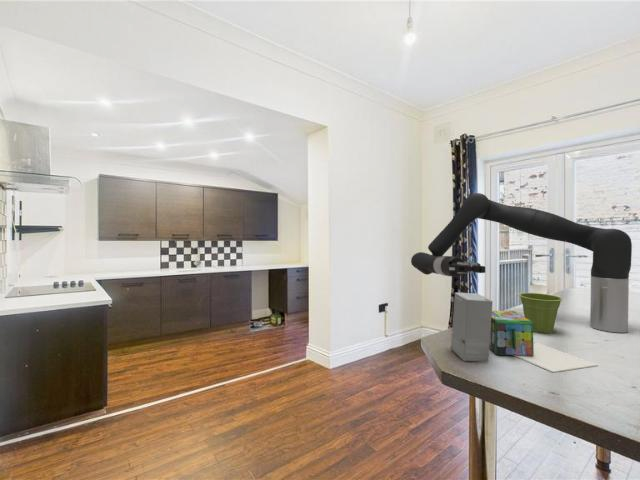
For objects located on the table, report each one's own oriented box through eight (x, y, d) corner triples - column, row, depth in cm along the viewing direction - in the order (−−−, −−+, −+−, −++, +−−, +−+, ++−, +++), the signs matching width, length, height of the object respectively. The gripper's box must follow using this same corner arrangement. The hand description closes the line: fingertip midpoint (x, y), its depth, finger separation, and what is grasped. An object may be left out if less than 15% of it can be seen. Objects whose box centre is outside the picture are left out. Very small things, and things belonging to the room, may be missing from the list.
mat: (496, 348, 86) (496, 347, 86) (535, 343, 90) (535, 342, 90) (552, 372, 71) (552, 371, 71) (597, 366, 74) (597, 364, 74)
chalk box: (515, 341, 90) (541, 363, 76) (481, 340, 92) (500, 360, 78) (515, 310, 90) (541, 325, 76) (481, 309, 92) (500, 324, 77)
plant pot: (517, 331, 101) (518, 297, 100) (518, 323, 110) (518, 291, 110) (564, 338, 94) (564, 301, 94) (560, 328, 104) (561, 295, 104)
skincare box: (450, 349, 85) (450, 292, 85) (476, 349, 85) (477, 292, 85) (463, 362, 77) (464, 298, 76) (493, 362, 77) (493, 298, 76)
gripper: (433, 257, 116) (466, 259, 100) (462, 255, 120) (499, 257, 103) (433, 277, 116) (466, 282, 99) (463, 274, 120) (500, 279, 103)
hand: (483, 269), depth 101 cm, fingers closed
